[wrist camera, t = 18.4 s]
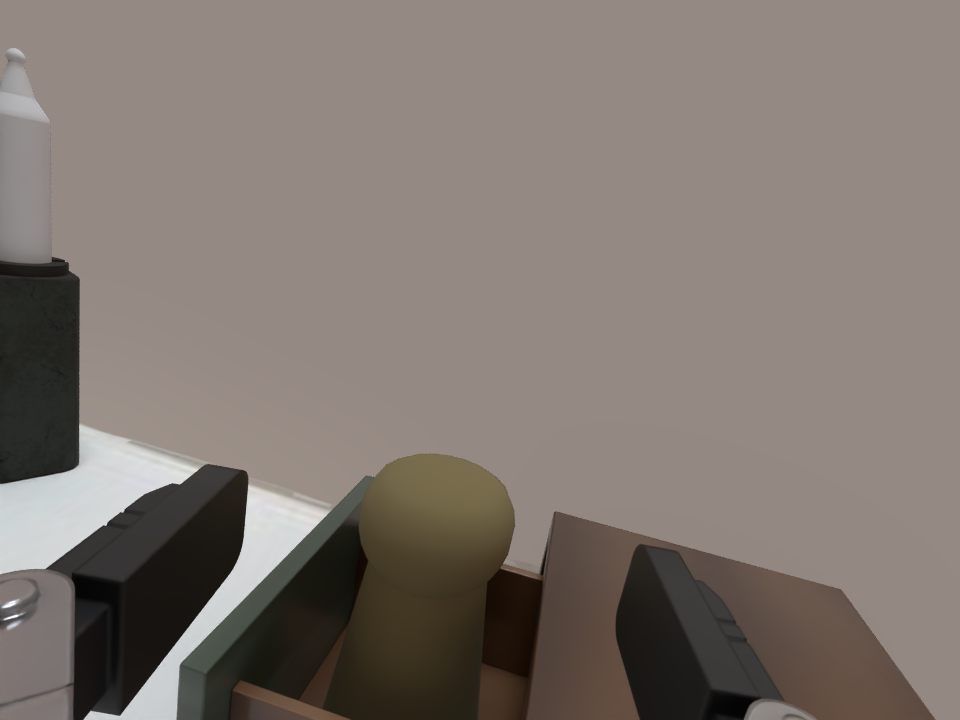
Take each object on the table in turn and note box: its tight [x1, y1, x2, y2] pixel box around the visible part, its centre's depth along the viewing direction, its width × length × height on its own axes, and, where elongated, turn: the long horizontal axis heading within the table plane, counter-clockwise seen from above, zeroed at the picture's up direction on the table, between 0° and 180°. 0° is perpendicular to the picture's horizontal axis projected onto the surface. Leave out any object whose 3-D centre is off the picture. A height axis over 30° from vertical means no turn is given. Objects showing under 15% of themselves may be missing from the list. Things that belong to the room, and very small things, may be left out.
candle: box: [0, 48, 80, 483], centre depth 32 cm, size 5×5×25 cm
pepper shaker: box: [322, 454, 515, 720], centre depth 19 cm, size 6×6×11 cm
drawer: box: [177, 476, 543, 720], centre depth 20 cm, size 13×12×7 cm
